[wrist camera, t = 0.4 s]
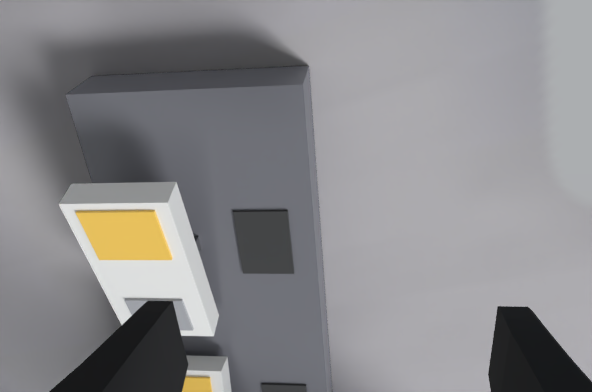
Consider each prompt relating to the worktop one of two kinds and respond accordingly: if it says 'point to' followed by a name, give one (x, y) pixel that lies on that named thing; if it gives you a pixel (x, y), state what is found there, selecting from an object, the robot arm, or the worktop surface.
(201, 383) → the rocker switch
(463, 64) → the worktop surface
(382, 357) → the worktop surface
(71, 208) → the outlet rocker
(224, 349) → the power strip
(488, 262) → the worktop surface
